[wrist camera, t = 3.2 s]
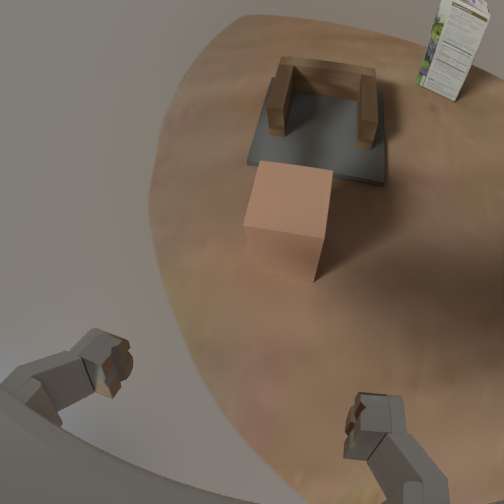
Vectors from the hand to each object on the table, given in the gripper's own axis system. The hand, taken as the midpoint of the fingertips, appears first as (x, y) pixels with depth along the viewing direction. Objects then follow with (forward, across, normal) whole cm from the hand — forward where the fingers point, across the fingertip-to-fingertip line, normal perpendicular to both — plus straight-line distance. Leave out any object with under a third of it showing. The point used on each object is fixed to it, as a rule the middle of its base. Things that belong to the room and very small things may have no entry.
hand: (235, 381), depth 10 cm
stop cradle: (+28, -1, -8) cm, 29 cm away
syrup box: (+36, -16, -16) cm, 43 cm away
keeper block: (+17, 0, +3) cm, 17 cm away
